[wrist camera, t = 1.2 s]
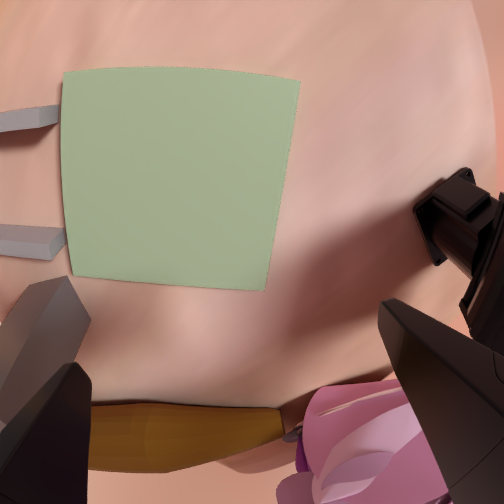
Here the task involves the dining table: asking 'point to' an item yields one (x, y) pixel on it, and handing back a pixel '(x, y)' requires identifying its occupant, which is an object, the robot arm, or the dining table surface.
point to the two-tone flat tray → (165, 174)
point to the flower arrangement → (362, 450)
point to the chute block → (38, 341)
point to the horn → (175, 435)
